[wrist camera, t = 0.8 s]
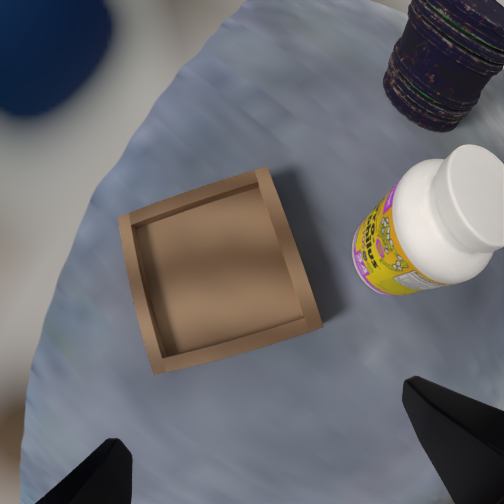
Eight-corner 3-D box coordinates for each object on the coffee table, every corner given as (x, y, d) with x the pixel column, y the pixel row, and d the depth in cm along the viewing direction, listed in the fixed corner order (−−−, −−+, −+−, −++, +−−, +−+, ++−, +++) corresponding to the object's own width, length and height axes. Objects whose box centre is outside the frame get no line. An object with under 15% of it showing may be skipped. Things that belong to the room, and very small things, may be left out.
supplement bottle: (358, 203, 23) (427, 102, 10) (428, 228, 22) (527, 158, 9) (340, 284, 21) (422, 241, 9) (415, 306, 21) (534, 287, 8)
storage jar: (470, 110, 24) (529, 28, 10) (439, 149, 23) (519, 48, 9) (406, 57, 26) (442, -35, 12) (364, 85, 25) (401, -34, 11)
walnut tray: (318, 326, 21) (323, 326, 19) (164, 370, 21) (153, 374, 19) (267, 179, 23) (267, 166, 21) (129, 225, 23) (117, 217, 21)
